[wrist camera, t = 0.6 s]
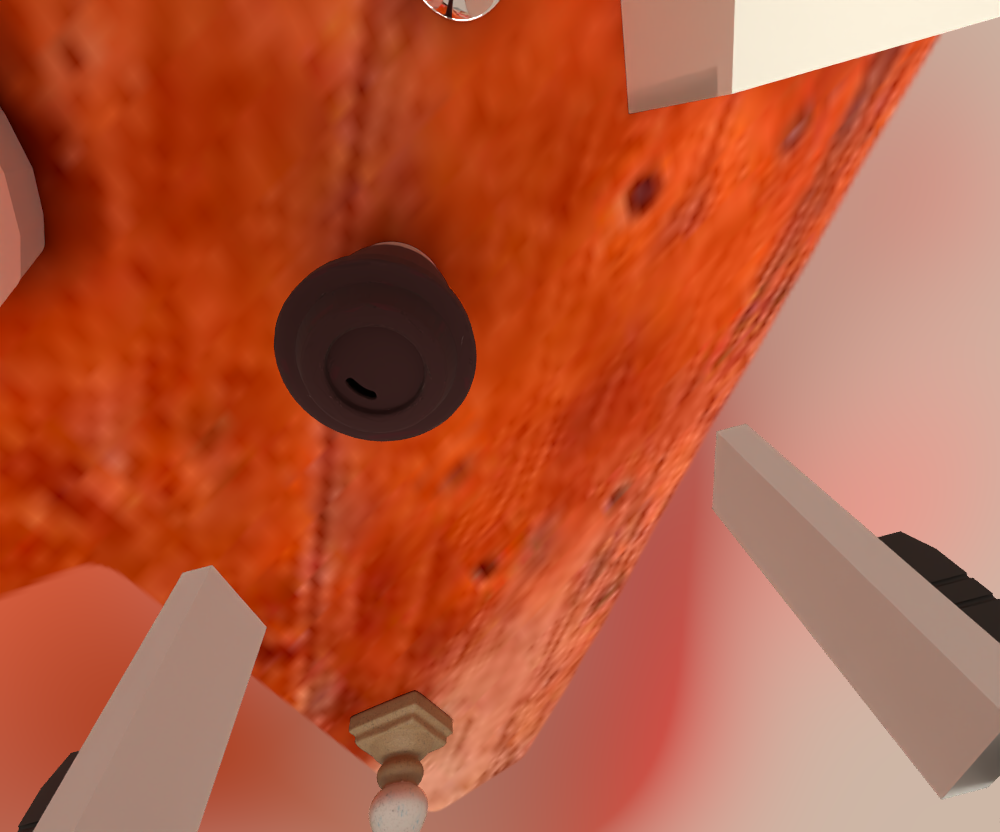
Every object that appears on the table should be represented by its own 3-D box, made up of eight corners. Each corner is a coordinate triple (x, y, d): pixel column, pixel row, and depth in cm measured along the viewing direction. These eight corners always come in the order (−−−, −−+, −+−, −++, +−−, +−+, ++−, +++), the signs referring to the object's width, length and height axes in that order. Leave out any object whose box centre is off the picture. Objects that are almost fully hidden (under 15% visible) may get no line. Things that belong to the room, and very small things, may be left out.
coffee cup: (436, 202, 31) (441, 236, 18) (476, 330, 36) (502, 427, 24) (302, 244, 31) (215, 307, 19) (362, 366, 36) (325, 481, 24)
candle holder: (415, 689, 61) (408, 954, 41) (454, 720, 67) (464, 966, 47) (348, 717, 63) (309, 987, 42) (391, 745, 68) (375, 996, 48)
